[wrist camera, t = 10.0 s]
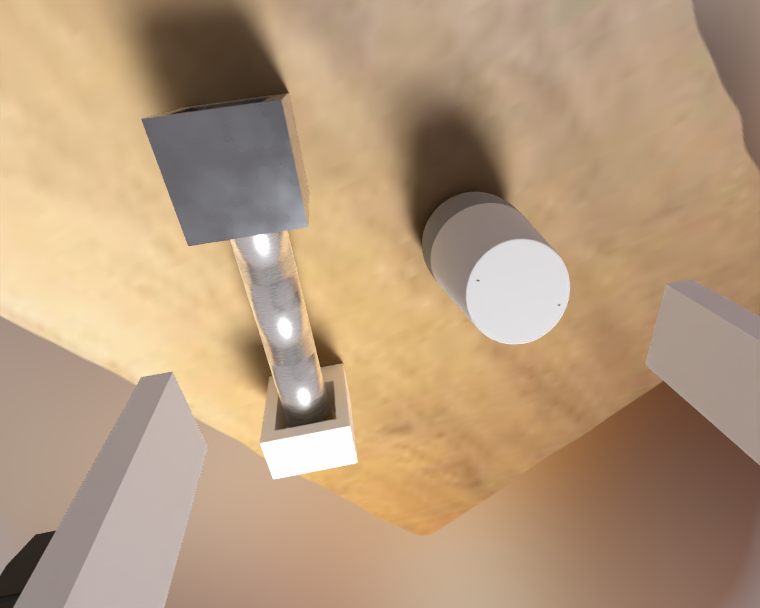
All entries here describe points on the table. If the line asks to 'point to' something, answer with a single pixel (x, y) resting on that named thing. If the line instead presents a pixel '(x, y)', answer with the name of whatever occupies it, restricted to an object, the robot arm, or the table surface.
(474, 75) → the table surface
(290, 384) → the tube
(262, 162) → the sleeve
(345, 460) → the socket block
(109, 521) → the robot arm
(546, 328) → the smart speaker
